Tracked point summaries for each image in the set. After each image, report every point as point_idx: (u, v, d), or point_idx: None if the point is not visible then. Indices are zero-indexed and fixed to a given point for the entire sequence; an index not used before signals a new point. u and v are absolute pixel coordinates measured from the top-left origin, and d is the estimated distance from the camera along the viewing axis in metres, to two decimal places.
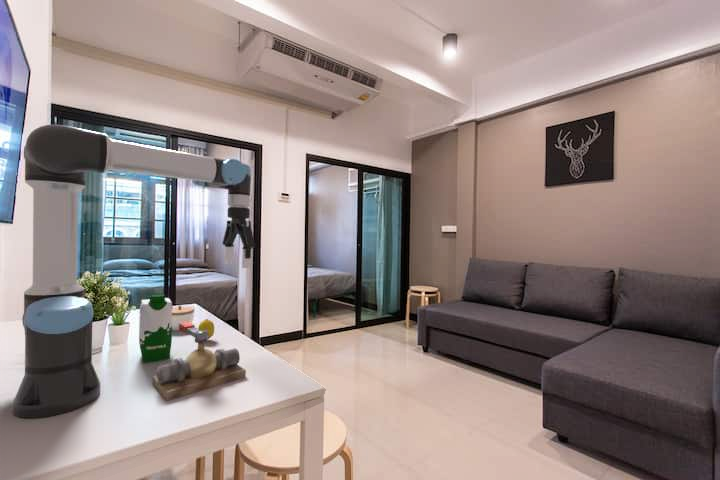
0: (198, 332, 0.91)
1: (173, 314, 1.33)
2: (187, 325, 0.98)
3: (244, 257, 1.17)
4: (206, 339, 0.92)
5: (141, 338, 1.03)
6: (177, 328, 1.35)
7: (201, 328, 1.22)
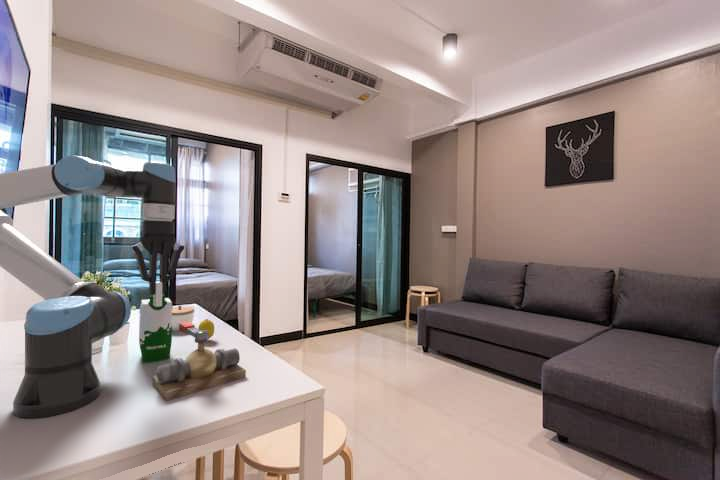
0: (198, 332, 0.91)
1: (173, 314, 1.33)
2: (187, 325, 0.98)
3: None
4: (206, 339, 0.92)
5: (141, 338, 1.03)
6: (177, 328, 1.35)
7: (201, 328, 1.22)
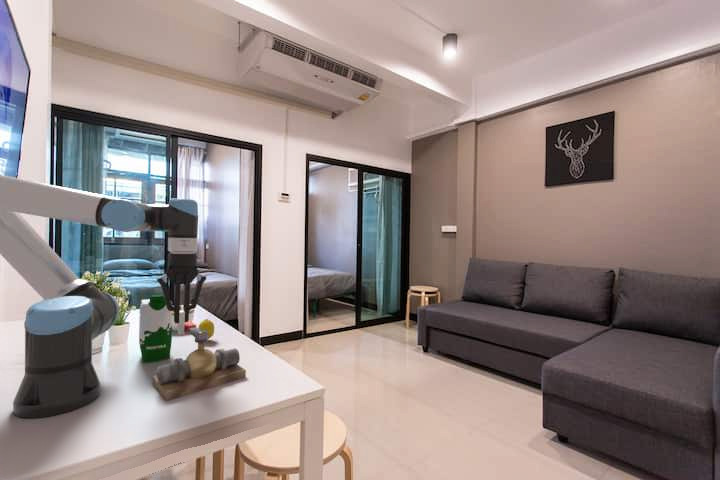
0: (198, 332, 0.91)
1: (173, 314, 1.33)
2: (189, 325, 0.98)
3: None
4: (206, 339, 0.91)
5: (141, 338, 1.03)
6: (177, 328, 1.35)
7: (201, 328, 1.22)
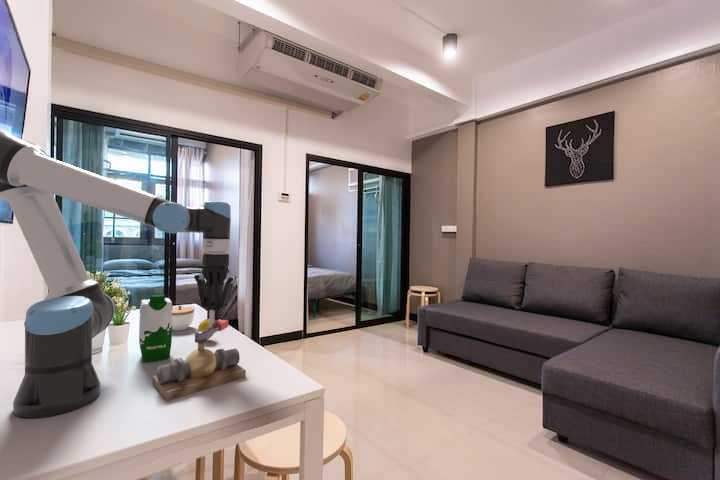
0: (199, 331, 0.92)
1: (173, 314, 1.33)
2: (217, 323, 1.01)
3: None
4: (201, 340, 0.90)
5: (141, 338, 1.03)
6: (177, 328, 1.35)
7: (201, 328, 1.22)
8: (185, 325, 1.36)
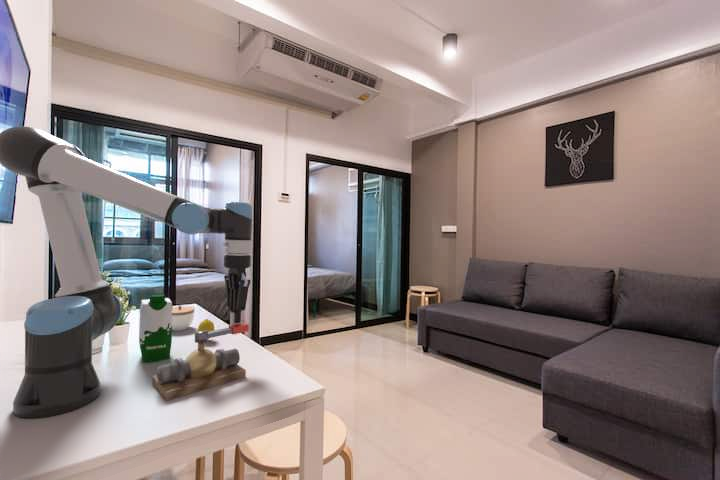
0: (200, 331, 0.92)
1: (173, 314, 1.33)
2: (233, 325, 0.99)
3: None
4: (197, 340, 0.90)
5: (141, 338, 1.03)
6: (177, 328, 1.35)
7: (201, 328, 1.22)
8: (185, 325, 1.36)
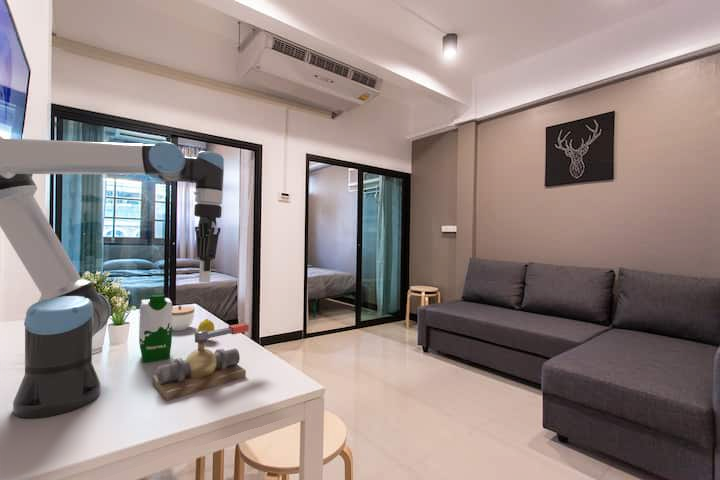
0: (200, 331, 0.92)
1: (173, 314, 1.33)
2: (233, 325, 0.99)
3: None
4: (197, 340, 0.90)
5: (141, 338, 1.03)
6: (177, 328, 1.35)
7: (201, 328, 1.22)
8: (185, 325, 1.36)
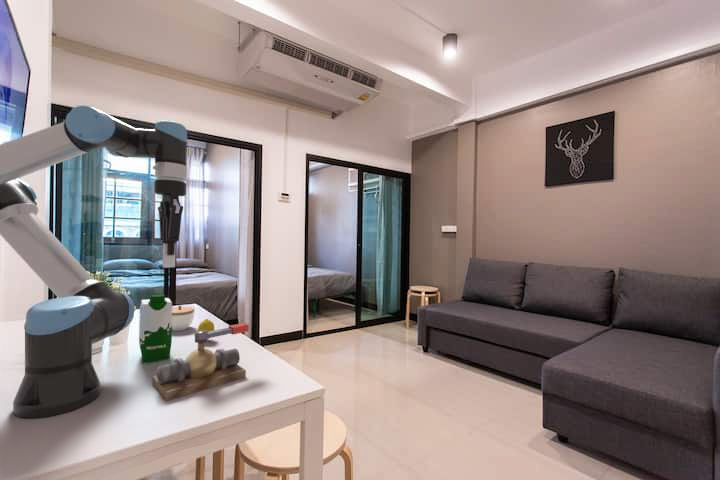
0: (200, 331, 0.92)
1: (173, 314, 1.33)
2: (233, 325, 0.99)
3: None
4: (197, 340, 0.90)
5: (141, 338, 1.03)
6: (177, 328, 1.35)
7: (201, 328, 1.22)
8: (185, 325, 1.36)
